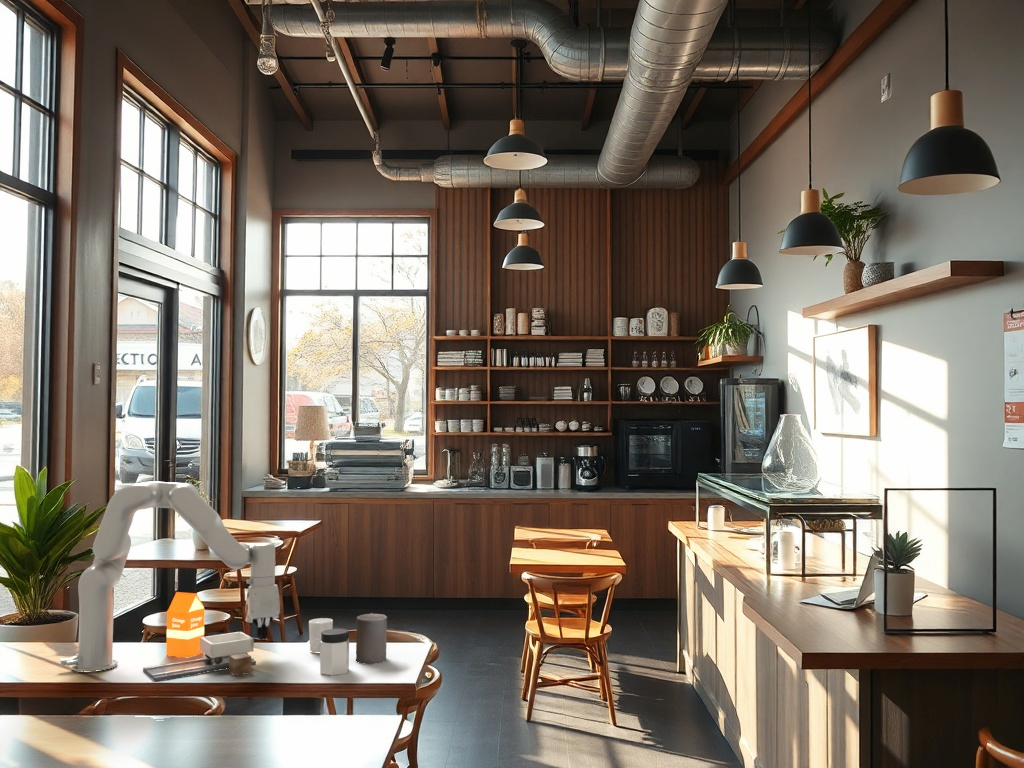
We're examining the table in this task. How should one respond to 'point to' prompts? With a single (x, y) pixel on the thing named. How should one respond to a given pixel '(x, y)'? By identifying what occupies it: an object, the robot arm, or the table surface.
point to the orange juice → (185, 625)
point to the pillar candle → (371, 638)
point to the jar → (334, 652)
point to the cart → (226, 645)
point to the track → (187, 668)
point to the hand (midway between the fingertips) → (261, 638)
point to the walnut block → (240, 663)
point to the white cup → (318, 632)
